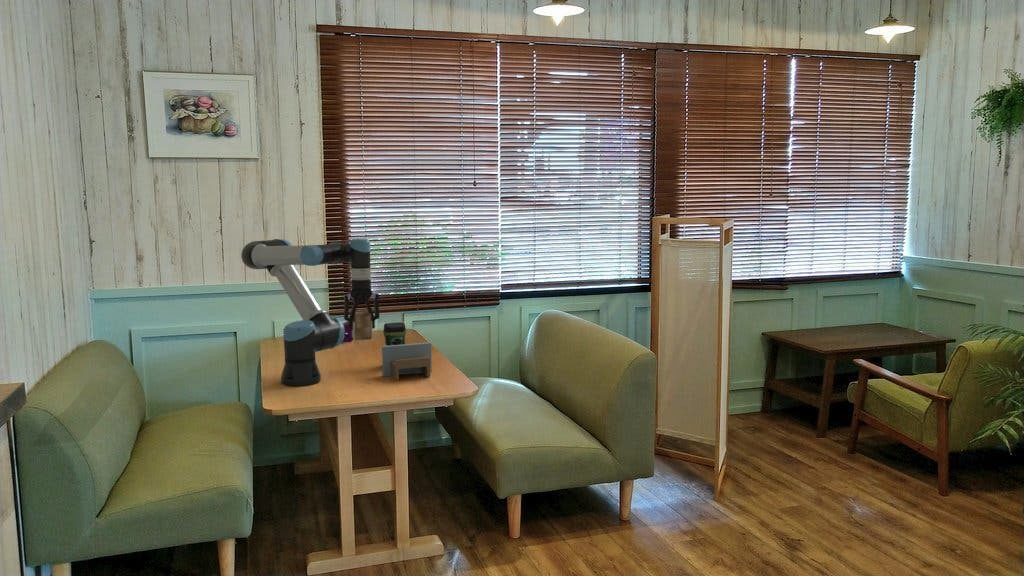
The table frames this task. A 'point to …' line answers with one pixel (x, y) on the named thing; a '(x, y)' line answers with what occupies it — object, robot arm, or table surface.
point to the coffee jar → (394, 333)
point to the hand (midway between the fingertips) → (362, 337)
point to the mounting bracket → (347, 336)
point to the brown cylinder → (362, 325)
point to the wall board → (406, 359)
